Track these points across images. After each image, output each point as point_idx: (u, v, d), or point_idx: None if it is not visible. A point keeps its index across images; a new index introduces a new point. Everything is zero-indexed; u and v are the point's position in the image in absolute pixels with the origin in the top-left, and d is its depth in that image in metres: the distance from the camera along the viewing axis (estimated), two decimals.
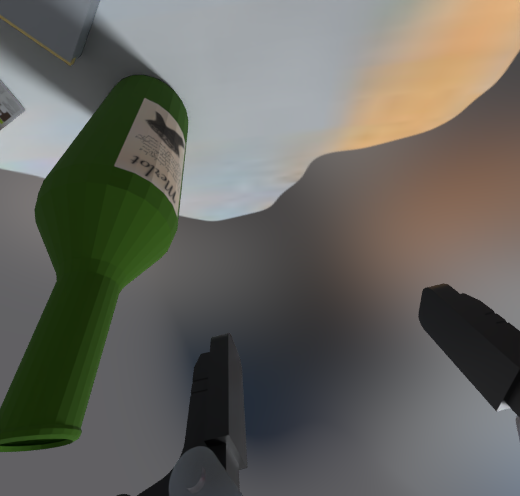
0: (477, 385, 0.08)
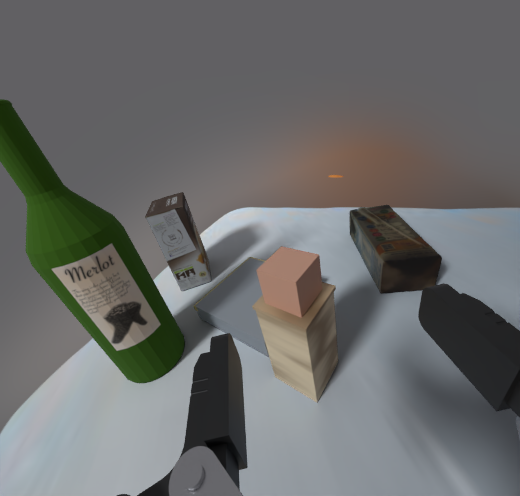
0: (477, 385, 0.08)
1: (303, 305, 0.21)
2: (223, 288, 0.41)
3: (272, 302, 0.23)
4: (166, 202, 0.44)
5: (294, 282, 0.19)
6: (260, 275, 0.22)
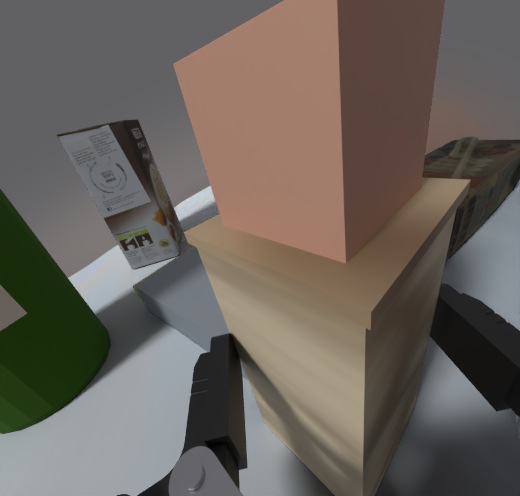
0: (477, 385, 0.08)
1: (359, 204, 0.05)
2: (188, 259, 0.25)
3: (240, 214, 0.07)
4: None
5: None
6: (187, 86, 0.06)
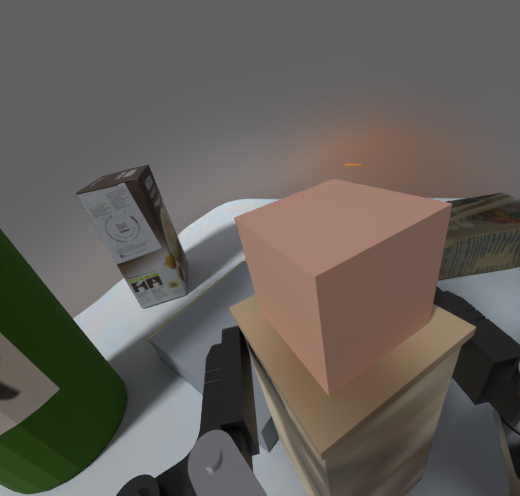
0: (457, 380, 0.08)
1: (343, 362, 0.06)
2: (198, 309, 0.26)
3: (270, 315, 0.09)
4: (118, 175, 0.29)
5: (311, 274, 0.05)
6: (241, 233, 0.08)
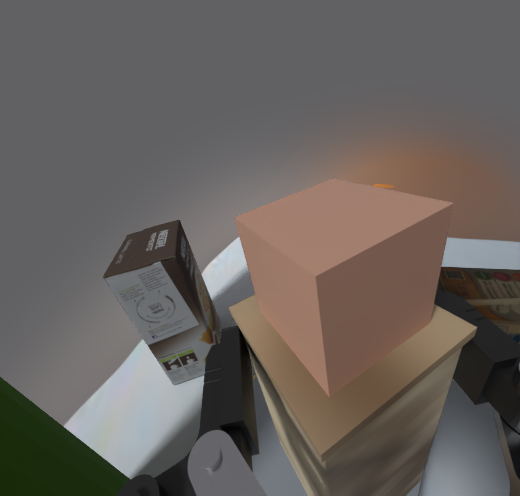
0: (457, 379, 0.08)
1: (344, 362, 0.06)
2: None
3: (270, 315, 0.09)
4: (148, 242, 0.25)
5: (311, 274, 0.05)
6: (241, 233, 0.08)
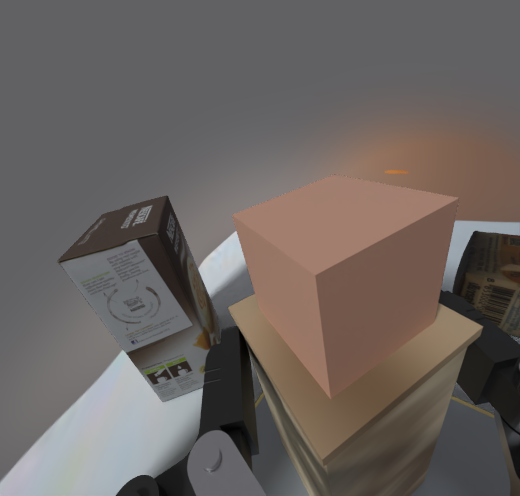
0: (458, 380, 0.08)
1: (345, 364, 0.06)
2: (259, 441, 0.16)
3: (269, 315, 0.09)
4: (125, 219, 0.19)
5: (311, 273, 0.04)
6: (239, 231, 0.08)
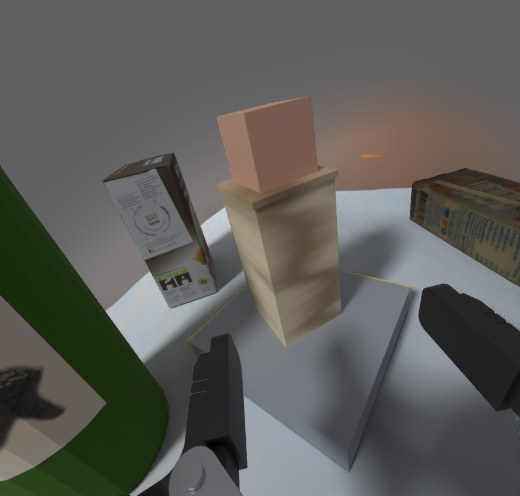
0: (477, 385, 0.08)
1: (265, 172, 0.13)
2: (239, 308, 0.24)
3: (237, 176, 0.16)
4: (144, 163, 0.27)
5: (242, 113, 0.12)
6: (220, 125, 0.15)
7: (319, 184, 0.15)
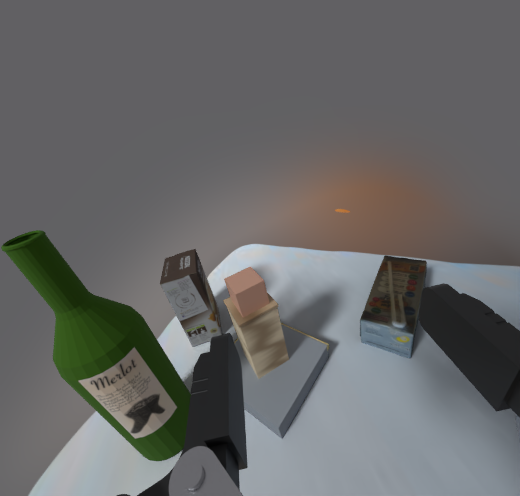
0: (477, 385, 0.08)
1: (245, 310, 0.32)
2: None
3: (233, 302, 0.34)
4: (179, 263, 0.45)
5: (235, 294, 0.30)
6: (225, 282, 0.33)
7: (269, 311, 0.33)
